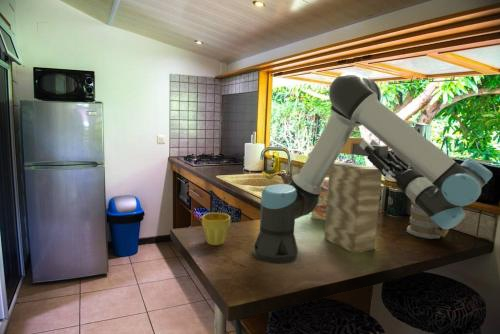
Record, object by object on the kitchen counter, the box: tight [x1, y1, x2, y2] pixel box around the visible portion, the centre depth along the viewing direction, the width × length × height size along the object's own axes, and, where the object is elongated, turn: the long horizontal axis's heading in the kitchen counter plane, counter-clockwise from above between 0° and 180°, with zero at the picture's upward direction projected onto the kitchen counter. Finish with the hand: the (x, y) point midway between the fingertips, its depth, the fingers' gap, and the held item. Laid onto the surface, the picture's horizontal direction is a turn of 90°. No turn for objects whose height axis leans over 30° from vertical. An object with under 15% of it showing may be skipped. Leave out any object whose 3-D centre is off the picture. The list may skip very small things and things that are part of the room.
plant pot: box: [201, 212, 232, 246], centre depth 121 cm, size 10×10×10 cm
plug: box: [340, 136, 389, 158], centre depth 119 cm, size 20×6×6 cm, turn 28°
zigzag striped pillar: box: [324, 162, 383, 254], centre depth 124 cm, size 16×10×30 cm, turn 28°
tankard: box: [406, 202, 450, 240], centre depth 138 cm, size 20×13×15 cm, turn 14°
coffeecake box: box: [310, 177, 329, 221], centre depth 157 cm, size 15×7×20 cm, turn 67°
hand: (366, 142), depth 117 cm, fingers closed on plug, 4 cm apart
